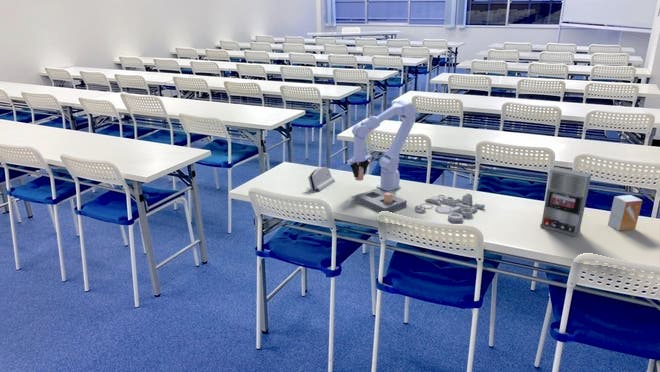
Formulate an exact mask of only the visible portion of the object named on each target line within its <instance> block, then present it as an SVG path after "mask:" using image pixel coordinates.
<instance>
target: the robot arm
mask: <svg viewBox="0 0 660 372" xmlns="http://www.w3.org/2000/svg"><path fill="white" fill-rule="evenodd" d="M416 113H417V109H416V106H415V105H414V104H413V103H411V102H406V101H404V100H402V99H401V100H398V101H396V102H394V103H393V104H392V105H391V106H390V107H388V108H387V109H385V110H384V111H383V112H381V113H380V114H378V115H377V116H375V115H371V116H368V118H367V119H366V120H364V121H361V122H360V123H358V124H355V125H354V126H353V127H352V129H351V133H352V134H353V156H352V158H350V159H347V160H346V161H347V162H346V165H347V166H350V168H351V171H352V173H353V177H354V178H355V177H356V178H357V177H358V171H359V167H360V166H361V167H364V173H363V177H364V176H365V175H366V172H367V169H368V167H369V165H370V163H371V162H370V161H369V160H373V155H370V154H367V152H366V151H367V150H366V147H367V140H366V139H367V137H368V135H369V134H370V133H371V132H372V131H374V130H376V129H377V128H379V127H380V125H381V123H383V122H385V121H386V120H388V119H390V118H391V117H392V118H393V117H394V116H399V117H400V119H401V124H400V126H399V128H398V130H397V132H396V134H395V137H394V139H393V140H392V143H391V144H390V147H389V148H388V150H387V151H386V152H384V154H383V155H382V157H380V158H379V160H378V165H379V166H380V184H379V185H376V188H377V189H378V188H379V189H380V190H382V191H383V190H384V191H386V192H390V191H392V190H395V189H398V188H400V187H401V185H400V180H401V179H400V171H399V170H398V168H399V163H400V156H399V155H400V153H401V151H402V150H403V147H404V145H405V143H406V141H407V140H408V139H407V138H408V137H409V135H410V132H411V130H412V128H413V126H414V124H415V117H416ZM358 163H359V164H358Z"/></svg>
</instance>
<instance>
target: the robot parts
mask: <svg viewBox="0 0 660 372" xmlns="http://www.w3.org/2000/svg"><path fill="white" fill-rule="evenodd" d="M424 201H425V202H423V203H421V204H420V205H416V206H414V211H415V212H416V213H421V214H422V213H425V212H426V210H429V209H433V208H434V205H433V204H435V205H438V206H436V207H435V208H434V211H435V212H436V213H439V214H444V215H446V214H447V219H448V220H449V221H450V222H454V223H460V222H462V221H463V218H472V216H473V213H475V212H477V211H478V209H480V210H484V209H485V207H486V206H485V204H483V203H482V204H479V203H474V204H473V195H472V194H471V193H465V194H464V195H463V196H462V197H461V198H455V199H454V197H452V196H447V197H446V195H443V194H439V195H437V196H436V195H435V196H431V197H430V198H426V199H424ZM428 202H429V203H428ZM431 203H432V204H431ZM442 204H444V205H445V206H443V205H442ZM423 205H430V207H426V206H423ZM446 205H447V206H446ZM472 205H473V206H472ZM449 206H456V207H454V208H452V207H449ZM471 206H472V207H471ZM483 208H484V209H483Z"/></svg>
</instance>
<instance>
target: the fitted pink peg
mask: <svg viewBox="0 0 660 372" xmlns="http://www.w3.org/2000/svg"><path fill="white" fill-rule="evenodd" d="M393 195H394V194H393V192H386V193H384V203H385V204H388V205H389V204H392V202H393Z"/></svg>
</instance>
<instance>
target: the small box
mask: <svg viewBox="0 0 660 372" xmlns="http://www.w3.org/2000/svg"><path fill="white" fill-rule="evenodd" d="M613 197H614V198H613V201H612V206H611V209H610V214H609V219H608V223H607V225H608V226H609V227H611V228H612V229H614V228H615V229H614V230H617V231H619V232H620V231H621V232H622V231H628V230H630V229H631V230H635V229H636V228H637V227H636V226H637V223H638V219H639V216H640V211H641V208H642V203H643V200H642V199H640V198H639V197H636V196H634V195H633V194H625V195H617V196H613Z"/></svg>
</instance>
